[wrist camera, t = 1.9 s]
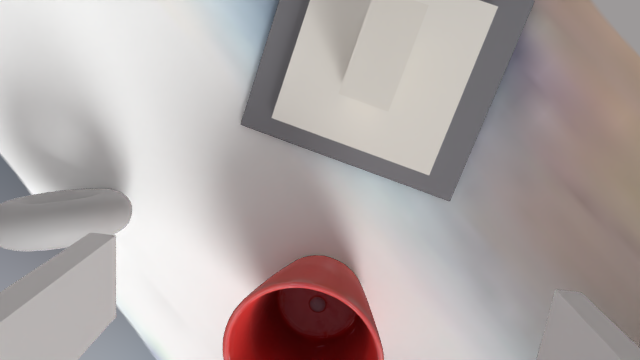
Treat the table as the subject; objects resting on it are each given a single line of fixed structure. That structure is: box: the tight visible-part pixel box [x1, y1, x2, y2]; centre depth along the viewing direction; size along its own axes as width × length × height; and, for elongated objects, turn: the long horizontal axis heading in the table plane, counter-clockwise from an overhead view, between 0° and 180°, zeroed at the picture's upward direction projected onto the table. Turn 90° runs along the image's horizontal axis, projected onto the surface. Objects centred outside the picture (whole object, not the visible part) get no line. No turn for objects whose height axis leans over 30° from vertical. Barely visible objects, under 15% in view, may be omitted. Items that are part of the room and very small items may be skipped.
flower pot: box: [223, 255, 384, 360], centre depth 34 cm, size 11×11×10 cm
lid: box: [272, 0, 498, 175], centre depth 30 cm, size 13×13×10 cm
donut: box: [0, 188, 132, 251], centre depth 35 cm, size 10×4×10 cm, turn 94°
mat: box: [240, 0, 535, 201], centre depth 35 cm, size 18×16×1 cm
